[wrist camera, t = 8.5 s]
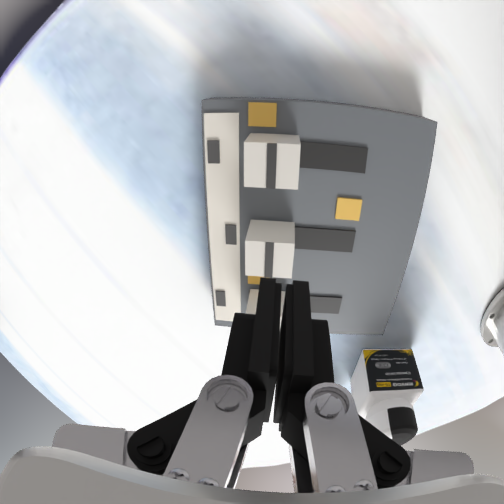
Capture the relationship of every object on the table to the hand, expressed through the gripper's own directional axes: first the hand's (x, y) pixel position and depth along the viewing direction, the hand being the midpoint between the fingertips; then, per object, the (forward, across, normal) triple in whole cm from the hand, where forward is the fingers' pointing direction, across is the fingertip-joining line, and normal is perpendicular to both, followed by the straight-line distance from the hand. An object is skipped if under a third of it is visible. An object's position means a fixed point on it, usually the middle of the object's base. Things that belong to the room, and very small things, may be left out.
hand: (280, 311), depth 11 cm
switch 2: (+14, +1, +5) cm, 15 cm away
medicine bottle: (+18, -16, +24) cm, 34 cm away
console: (+18, -3, +5) cm, 18 cm away
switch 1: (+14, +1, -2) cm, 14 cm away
